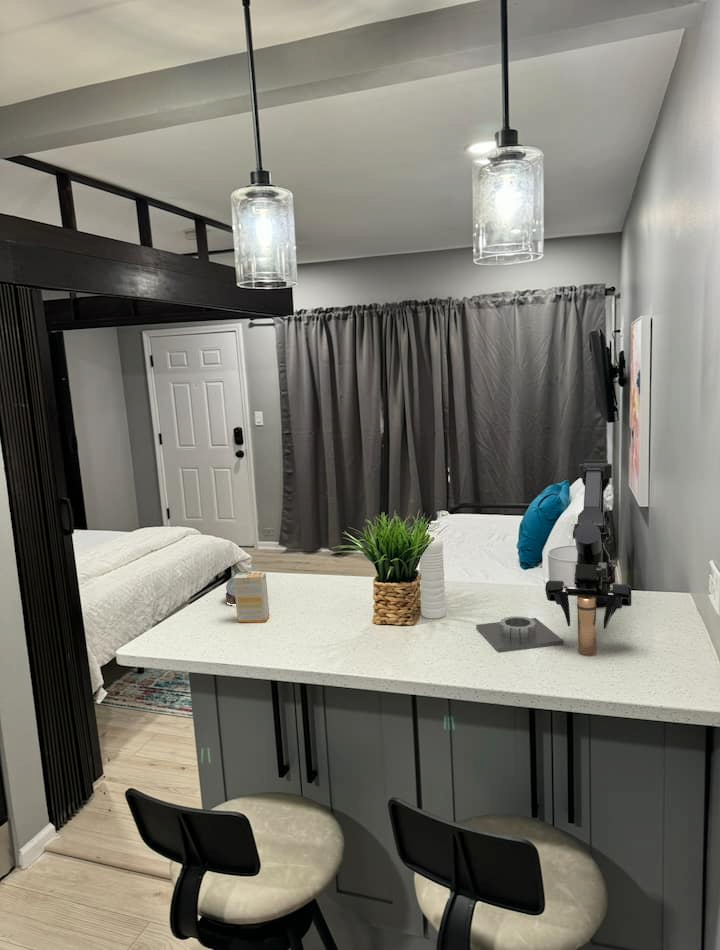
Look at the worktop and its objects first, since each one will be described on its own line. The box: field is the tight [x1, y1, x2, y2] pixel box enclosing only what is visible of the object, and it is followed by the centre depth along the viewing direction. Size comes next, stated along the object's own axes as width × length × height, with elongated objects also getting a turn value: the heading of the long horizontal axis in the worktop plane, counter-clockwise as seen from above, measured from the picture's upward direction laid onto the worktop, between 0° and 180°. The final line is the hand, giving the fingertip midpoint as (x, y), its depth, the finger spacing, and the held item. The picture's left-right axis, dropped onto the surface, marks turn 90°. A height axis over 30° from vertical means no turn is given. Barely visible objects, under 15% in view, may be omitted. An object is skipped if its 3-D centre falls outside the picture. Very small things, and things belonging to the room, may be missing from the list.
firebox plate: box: [475, 615, 564, 653], centre depth 171 cm, size 16×16×4 cm
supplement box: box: [233, 571, 270, 623], centre depth 193 cm, size 8×5×13 cm, turn 84°
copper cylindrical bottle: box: [576, 595, 597, 657], centre depth 158 cm, size 4×4×13 cm
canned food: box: [225, 570, 253, 604], centre depth 211 cm, size 11×10×10 cm
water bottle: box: [418, 520, 447, 620], centre depth 189 cm, size 9×6×25 cm
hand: (586, 627), depth 157 cm, fingers open, 7 cm apart
